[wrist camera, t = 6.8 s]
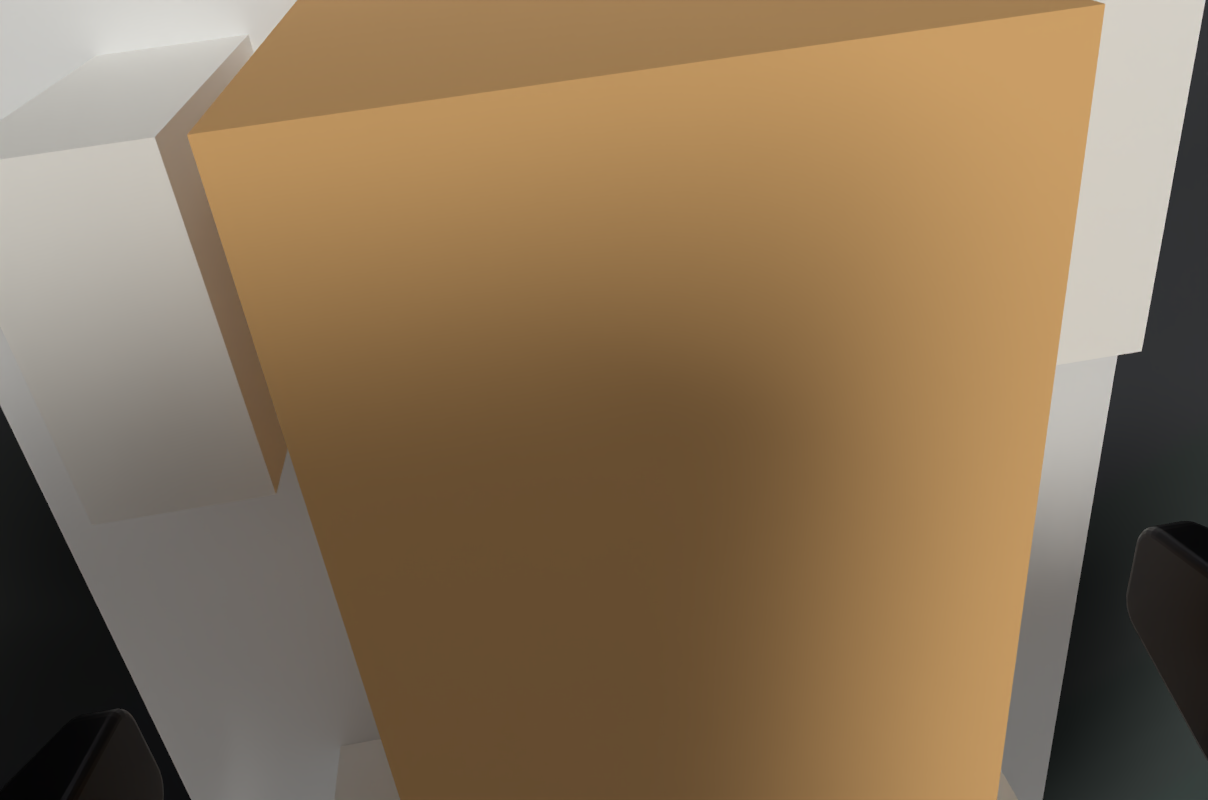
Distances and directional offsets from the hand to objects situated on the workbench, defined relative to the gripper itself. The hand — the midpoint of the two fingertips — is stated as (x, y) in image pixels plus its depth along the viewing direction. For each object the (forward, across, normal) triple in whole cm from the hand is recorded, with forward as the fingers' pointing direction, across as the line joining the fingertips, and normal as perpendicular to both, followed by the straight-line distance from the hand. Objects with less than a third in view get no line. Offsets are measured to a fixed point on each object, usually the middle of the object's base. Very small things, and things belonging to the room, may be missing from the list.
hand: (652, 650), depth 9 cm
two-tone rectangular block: (+2, 0, +2) cm, 3 cm away
